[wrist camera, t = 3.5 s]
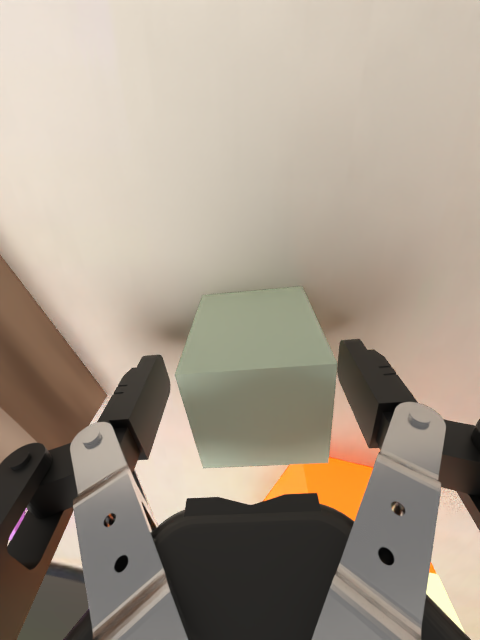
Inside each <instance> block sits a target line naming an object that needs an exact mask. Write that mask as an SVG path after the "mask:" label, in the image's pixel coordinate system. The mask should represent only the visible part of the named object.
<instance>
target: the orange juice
mask: <svg viewBox="0 0 480 640" xmlns="http://www.w3.org/2000/svg"><path fill="white" fill-rule="evenodd" d="M372 470H373V468H372V467H368V466H364V465H359V464H355V463H351V462H347V461H343V460H339V459H334V458H330V457H329V461H328V463H317V464H293V465H289V467H288V468H287V469H286V471H285V472H284V473H283V475H282V476H281V477H280V479H279V480H278V482H277V483H276V484H275V486H274V487H273V488H272V490H271V491H270V493H269V494H268V495H267V497H266V498H265V499H264V501H266V500H269V499H272V498H275V497H278V496H281V495H283V494H299V493H317V494H318V499H319V503H320V504H324V505H327V506H329V507H332V508H334V509H336V510H338V511H340V512H342V513H344V514H345V515H347V516H348V517H350V518H351V519H352V520H353V521H355V518H356V515H357V512H358V510H359V507H360V504H361V501H362V498H363V495H364V493H365V490H366V487H367V484H368V481H369V478H370V476H371V473H372ZM426 594H427V595H428V596H429V597H430V598H431V599H432V600H433V601H434V602H435V603H436V604H437V605H438V606H439V607H440V608H441V609H442V610H443V611H444V612H445V613H446V615H447V616H448V617H449V618H450V619H451V620H452V621H453V622H454V623H455V624H456V625H457V626H458V627H459V628H460V629H461V630H462V631H463V632H464V630H463V628H462V625H461V623H460V621H459V619H458V617H457V615H456V612H455V610H454V608H453V606H452V604H451V602H450V600H449V597H448V595H447V593H446V591H445V589H444V587H443V585H442V582H441V580H440V578H439V576H438V574H436V572H435V570H434V568H433V565H432V563H430V570H429V577H428V584H427V591H426ZM464 633H465V632H464Z"/></svg>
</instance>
